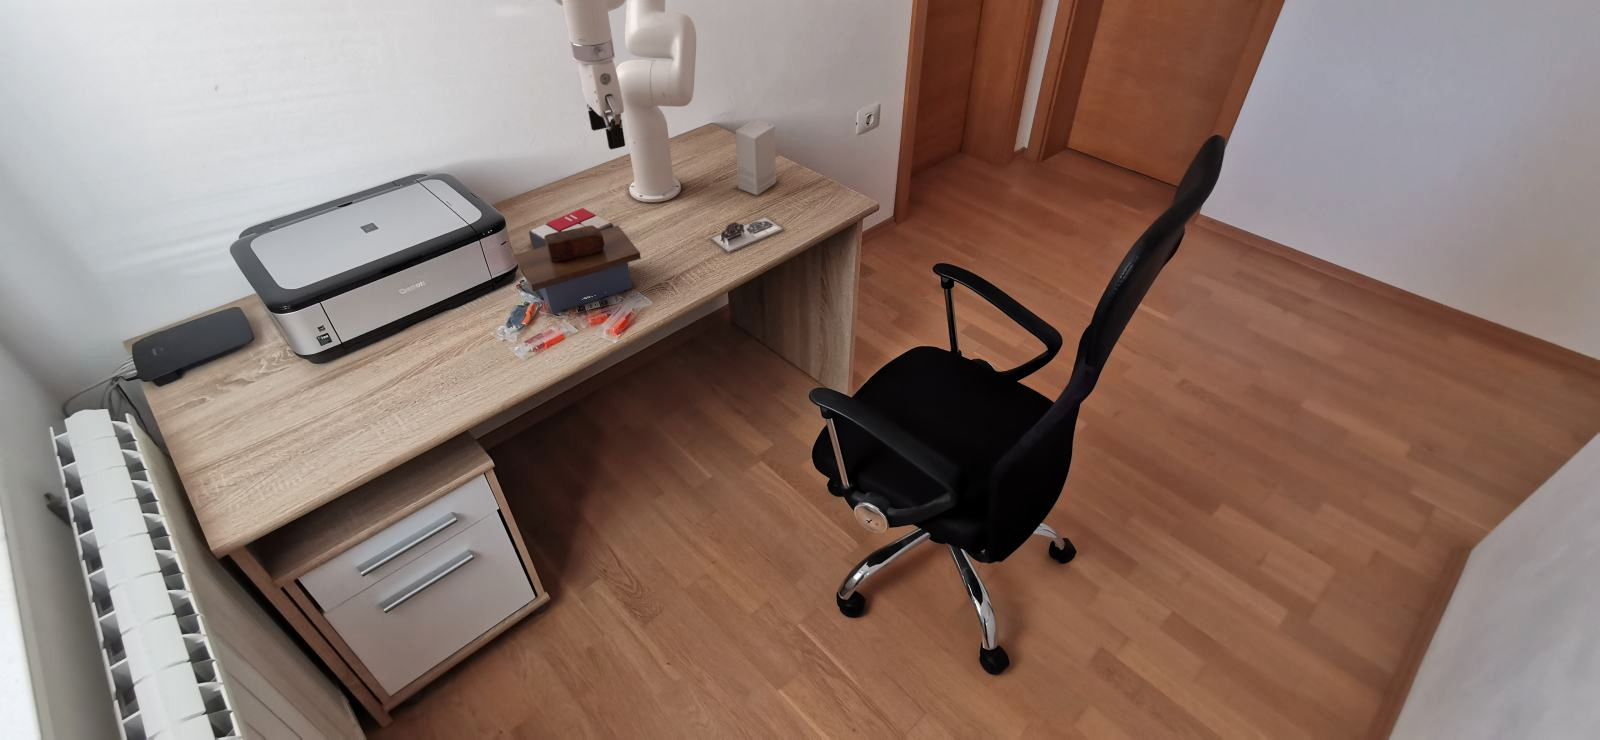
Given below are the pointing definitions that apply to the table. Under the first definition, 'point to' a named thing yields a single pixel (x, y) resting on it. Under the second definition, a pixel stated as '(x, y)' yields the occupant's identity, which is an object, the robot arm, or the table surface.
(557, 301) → the blue box
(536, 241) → the button pad
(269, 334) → the table surface
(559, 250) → the brick
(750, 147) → the cosmetic box
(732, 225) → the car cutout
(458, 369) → the table surface
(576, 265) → the board
